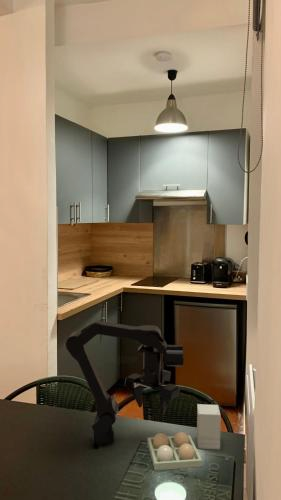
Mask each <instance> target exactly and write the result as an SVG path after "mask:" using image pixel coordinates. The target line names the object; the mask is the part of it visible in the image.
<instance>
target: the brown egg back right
mask: <svg viewBox="0 0 281 500" xmlns="http://www.w3.org/2000/svg"><path fill="white" fill-rule="evenodd" d="M188 435H189V434H187V433H186V432H183V431H180V432H177V433H176V434H175V435H174V436H175V437H174V444H175V445H176V447H177V448H178V447H180V446H181V445H182V444H185V443H187V444H189V437H188Z"/></svg>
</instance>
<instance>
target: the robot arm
mask: <svg viewBox="0 0 281 500" xmlns="http://www.w3.org/2000/svg"><path fill="white" fill-rule="evenodd" d="M161 331H162V330H161V329H160V328H159V327H158V326H157V325H153V324H152V325H150V324H148V325H147V324H145V325H139V326H138V325H137V326H136V325H135V326H134V325H127V324H121V323H114V322H109V321H104V320H101V319H94V321H92V323H90V324H88V325H87V326H85V327H84V328H83V329H81V330H76V331H74V332H72V333H71V335H70V336H69V337H68V338H67V339H66V341H65V348H66V350H67V352H68V353H69V355H70V356H71V358H73V359H74V360H75V361H76V362H77V363H78V365H79V367H80V370H81V372H82V375H83V376H84V379H85V381H86V383H87V385H88V388H89V391H90V392H91V394H92V397H93V399H94V402H95V411H96V413H95V417H94V418H93V421H92V425H91V429H92V449H94V450H97V449H98V450H99V447H104V446H109V445H110V444H113V443H115V435H114V434H115V429H114V427H113V425H114V424H115V423H116V419H117V417H118V412H119V406H120V404H119V403H118V402H117V400H116V396H115V394H112V395H110V394H108V392H107V390H106V388H105V385H104V384H103V382H102V380H101V377H100V375H99V372H98V371H97V368H96V366H95V364H94V361H93V359H92V357H91V355H90V345H89V341H91V340H92V339H93V338H94V337H97V335H100V336H106V337H107V336H108V337H113V338H119V339H123V340H124V339H126V340H132V341H134V342H137V343H138V344H139V345H140V344H141V345H140V346H138V349H137V353H143V354H142V355H143V363H142V366H143V367H142V368H140V372H141V373H142V374H138V373H135V372H134V373H132V374H130V375H127V376H126V378H125V380H124V386H125V387H127V389H128V390H129V391H130V393H131V394H132V396H133V397H134V400H135V401H136V403H137V406H138V407H139V408H142V406H143V390H144V387H145V388H148V389H152V390H154V391H157V392H159V395H160V397H159V407H160V408H159V409H160V414H161V416H162V417H163V416H165V414H166V411H167V409H168V406H169V404H170V402H171V401H172V400H174V399H175V398H177V397H179V395H181V390H180V387H179V386H178V385H175V384H172V383H168V384H166V385H161V384H164V383H165V381H167V382H170V379H171V374H172V372H171V371H169V370H165V369H164V367H163V366H161V365H162V364H161V363H164V365H165V367H166V366H167V367H184V364H185V363H184V362H185V361H184V351H183V350H184V348H183V344H167V342H166V340H165V339H164V337H163V336H162V332H161ZM161 357H162V358H161Z"/></svg>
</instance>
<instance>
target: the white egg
mask: <svg viewBox="0 0 281 500" xmlns="http://www.w3.org/2000/svg"><path fill="white" fill-rule="evenodd" d="M157 457H158V459H159V461H160V462H163V461H171V460H172V458H173V451H172V449H171V447H169V446H168V445H162V446H160V447H159V448H158V450H157Z"/></svg>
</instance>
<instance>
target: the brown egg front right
mask: <svg viewBox="0 0 281 500" xmlns="http://www.w3.org/2000/svg"><path fill="white" fill-rule="evenodd" d="M194 455H195V450H194V448H193V446H192V445H190V444H187V443H185V444H182V445H181V446H180V448H179V456H180V458H181V459H182V460H191V459H193V458H194Z"/></svg>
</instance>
